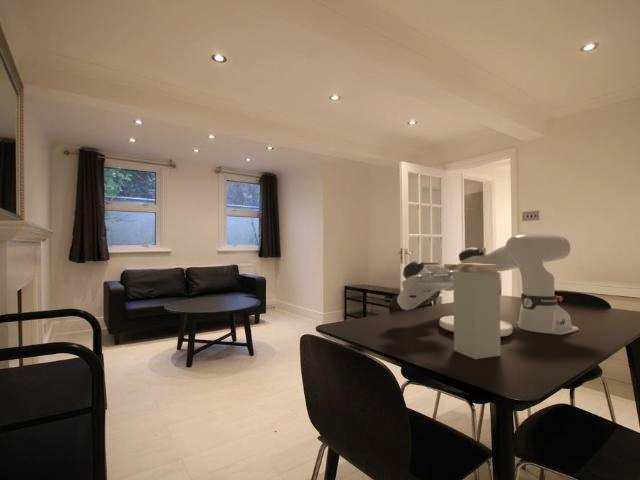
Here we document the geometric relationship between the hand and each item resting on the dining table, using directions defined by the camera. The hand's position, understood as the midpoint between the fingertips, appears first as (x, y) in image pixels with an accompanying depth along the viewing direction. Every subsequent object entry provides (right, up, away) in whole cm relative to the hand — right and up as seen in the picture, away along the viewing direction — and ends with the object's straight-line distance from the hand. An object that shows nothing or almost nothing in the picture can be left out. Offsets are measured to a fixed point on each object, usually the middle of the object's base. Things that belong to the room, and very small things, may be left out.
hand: (442, 273), depth 120 cm
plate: (+17, -25, +11) cm, 32 cm away
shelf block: (+6, -24, -15) cm, 29 cm away
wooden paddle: (+4, +2, -11) cm, 12 cm away
